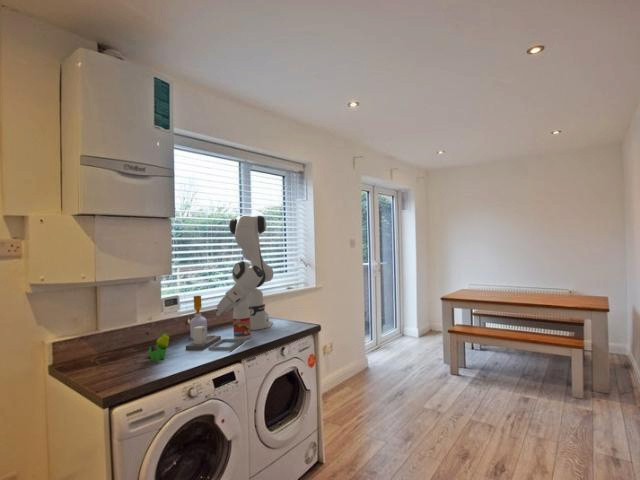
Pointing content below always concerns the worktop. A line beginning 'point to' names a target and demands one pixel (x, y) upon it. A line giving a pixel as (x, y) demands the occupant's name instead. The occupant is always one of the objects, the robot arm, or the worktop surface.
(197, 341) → the charger
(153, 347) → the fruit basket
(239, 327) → the fruit juice
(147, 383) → the worktop surface
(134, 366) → the worktop surface
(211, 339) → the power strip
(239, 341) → the tray
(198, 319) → the soap bottle
